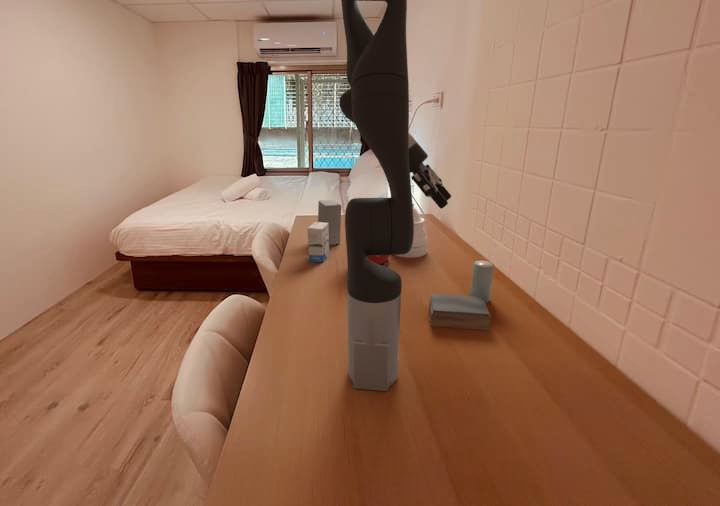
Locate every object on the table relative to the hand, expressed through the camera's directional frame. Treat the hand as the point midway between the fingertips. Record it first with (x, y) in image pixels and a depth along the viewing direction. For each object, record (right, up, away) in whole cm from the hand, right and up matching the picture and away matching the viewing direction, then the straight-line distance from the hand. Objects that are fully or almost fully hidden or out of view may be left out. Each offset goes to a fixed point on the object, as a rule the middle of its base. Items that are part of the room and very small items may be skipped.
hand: (446, 202), depth 92 cm
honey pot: (-4, -12, +42) cm, 43 cm away
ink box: (-35, -14, +35) cm, 52 cm away
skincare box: (-33, -9, +51) cm, 61 cm away
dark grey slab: (+2, -28, -3) cm, 28 cm away
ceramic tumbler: (+10, -25, +7) cm, 27 cm away
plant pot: (-18, -17, +27) cm, 37 cm away
